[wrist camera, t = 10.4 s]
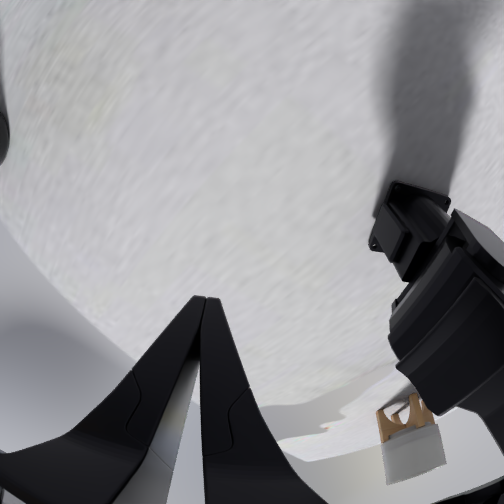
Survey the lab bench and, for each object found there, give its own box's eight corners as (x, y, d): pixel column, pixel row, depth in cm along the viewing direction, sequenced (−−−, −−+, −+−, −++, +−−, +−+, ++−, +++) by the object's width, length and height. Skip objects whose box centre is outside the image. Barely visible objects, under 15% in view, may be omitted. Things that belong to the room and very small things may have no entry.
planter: (368, 420, 52) (378, 487, 38) (385, 399, 44) (400, 480, 30) (416, 409, 51) (429, 471, 37) (438, 386, 43) (457, 458, 29)
